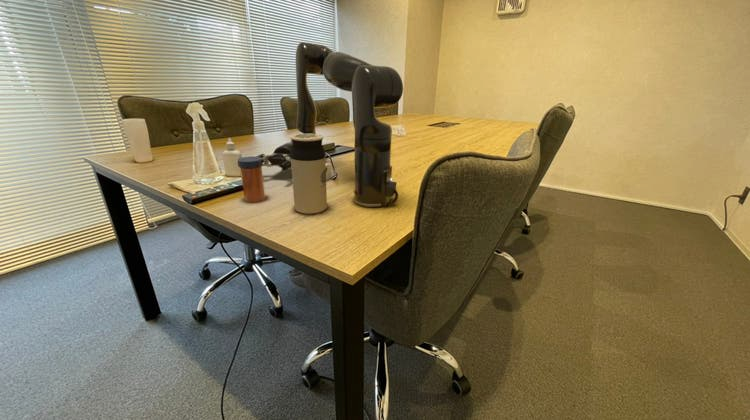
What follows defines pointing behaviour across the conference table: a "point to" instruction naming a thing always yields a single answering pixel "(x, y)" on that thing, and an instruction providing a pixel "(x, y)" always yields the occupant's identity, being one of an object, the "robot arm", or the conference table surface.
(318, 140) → the travel mug
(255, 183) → the jar
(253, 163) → the lid
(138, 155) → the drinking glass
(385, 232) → the conference table surface
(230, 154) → the eye dropper bottle
